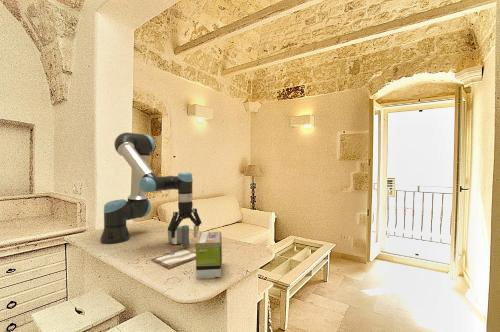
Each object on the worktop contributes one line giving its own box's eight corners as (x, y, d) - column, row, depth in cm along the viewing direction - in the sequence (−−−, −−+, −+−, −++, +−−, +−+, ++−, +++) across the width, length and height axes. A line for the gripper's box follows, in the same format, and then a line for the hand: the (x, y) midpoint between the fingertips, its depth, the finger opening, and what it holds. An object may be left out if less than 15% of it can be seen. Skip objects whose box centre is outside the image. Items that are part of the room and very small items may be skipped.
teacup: (181, 246, 132) (181, 231, 132) (163, 245, 134) (163, 230, 134) (192, 238, 146) (192, 225, 146) (176, 237, 148) (176, 224, 148)
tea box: (200, 263, 109) (200, 231, 109) (222, 263, 110) (222, 231, 110) (195, 279, 94) (195, 242, 94) (221, 278, 95) (221, 241, 95)
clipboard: (149, 259, 113) (149, 257, 113) (183, 248, 128) (183, 246, 128) (168, 269, 103) (168, 266, 103) (203, 256, 118) (203, 253, 118)
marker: (181, 248, 129) (181, 226, 129) (185, 246, 131) (185, 225, 131) (184, 249, 127) (184, 226, 127) (188, 247, 129) (188, 225, 129)
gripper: (168, 204, 117) (169, 248, 117) (207, 199, 136) (207, 236, 136) (160, 203, 122) (160, 245, 122) (199, 198, 141) (199, 233, 141)
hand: (185, 240), depth 129 cm, fingers open, 13 cm apart
